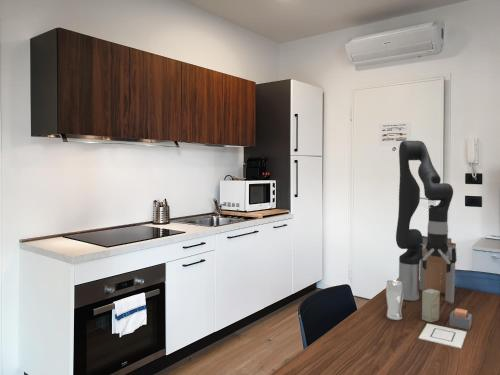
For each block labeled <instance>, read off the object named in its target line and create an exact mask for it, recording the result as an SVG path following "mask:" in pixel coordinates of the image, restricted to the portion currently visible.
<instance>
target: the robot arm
mask: <svg viewBox="0 0 500 375" xmlns="http://www.w3.org/2000/svg"><path fill="white" fill-rule="evenodd" d="M398 158H399V159H398V160H399V161H398V163H399V185H398V188H399V190H398V215H397V225H396V231H395V241H396V242H395V243H396V245H397V247H398V248H399V249H401V250H406V251H404V252H403V253H402V254H401V255H399V258H398V277H397V281H401V282H403V287H404V296H403V301H404V300H405V301H419V299H420V290H419V285H420V259H422V261H423V262H422V267H423V268H424V270H426V269H427V260H426V259H427V258H428V257H429V256H430V255H432V256H437V257H443V258H444V259H445V261H446V262H447V268H446V273H449V272H450V271H451V264H452V263H455V264H456V263H457V261H458V260H457V247H456V248H455V247H454V248H448V246H447V241H448V238H449V236H448V235H449V224H448V215H449V208H450V206H451V202H452V199H453V196H454V188H453V187H452V185H451V184H449V183H445V182H443V183H442V182H441V181H442V180H441V179H442V178H441V177H440V175H439V173H438V172H437V170H436V169H435V167H434V164H433V162H432V160H431V157H430V154H429V150H428V148H427V146H426V144H425V142H423V141H421V140H402V141H401V142H400V144H399V146H398ZM409 161H419V162H420V164H419V166H418V169H417V170H418V171H417V174H418V176H419V179H420V181H421V182H422V185H423V190H424V197H425V198H426V199H427V200H429V201H434V202H435V201H437V202H438V201H439V202H438V204H436V205H433V206H430V207H429V209H428V221H427V222H428V223H427V235H426V237H427V245H423V238H422V236H423V235H422V232H421V231H420V230H419V229H416V228H410V224H411V220H412V218H413V215H414V214H415V212H416V210H417V209H418V207H419V205H420V202H421V201H420V200H421V188H420V185H419V183H418V182H417V180H416V178H415V177H414V175H413V173H412V172H411V169H410V162H409ZM425 248H426V249H427V250H428V253H427V254H426V255H425V256H422V253H423V250H424V249H425ZM448 250H449V251H450V253H452V260H450V258H449V257H448V255H447V254H446V252H447V251H448Z"/></svg>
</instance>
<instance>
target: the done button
mask: <svg viewBox="0 0 500 375" xmlns="http://www.w3.org/2000/svg"><path fill="white" fill-rule="evenodd" d="M453 311H454V316H457V317H462V318H467V314H468V309H463V308H457V307H455V309H454V310H453Z"/></svg>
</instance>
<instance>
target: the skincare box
mask: <svg viewBox="0 0 500 375" xmlns="http://www.w3.org/2000/svg"><path fill="white" fill-rule="evenodd" d="M421 293H422V294H421V295H422V298H421V302H422V303H421V306H422V307H421V320H422V321H425V322H427V323H430V324H431V323H434V322H437V321H439V320H440V300H441V299H440V291H438V290H434V289H427V290H424V291H421Z"/></svg>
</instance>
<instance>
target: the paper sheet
mask: <svg viewBox="0 0 500 375" xmlns="http://www.w3.org/2000/svg"><path fill="white" fill-rule="evenodd" d="M466 336H467V331H464V330H461V329H455V328H451V327H446V326H443V325H442V326H440V325H436V324H431V323H429V322H427V323H426V325H425V326H424V328H423V329H422V331H421V333H420V335H419V336H418V340H423V341H427V342H431V343H435V344H439V345H443V346H448V347H453V348H456V349H461V350H462V347H463V344H464V341H465V339H466Z"/></svg>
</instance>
